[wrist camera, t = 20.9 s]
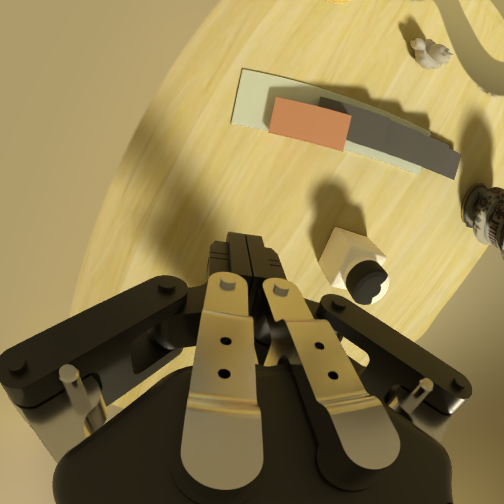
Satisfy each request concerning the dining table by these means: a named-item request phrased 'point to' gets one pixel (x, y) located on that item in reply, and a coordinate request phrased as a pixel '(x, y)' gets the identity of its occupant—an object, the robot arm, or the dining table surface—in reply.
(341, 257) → the medicine bottle
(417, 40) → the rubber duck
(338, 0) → the beer glass
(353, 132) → the domino
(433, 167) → the domino
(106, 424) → the robot arm
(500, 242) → the apothecary jar
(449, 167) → the domino
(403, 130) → the domino
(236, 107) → the mat
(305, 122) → the domino
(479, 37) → the dining table surface
